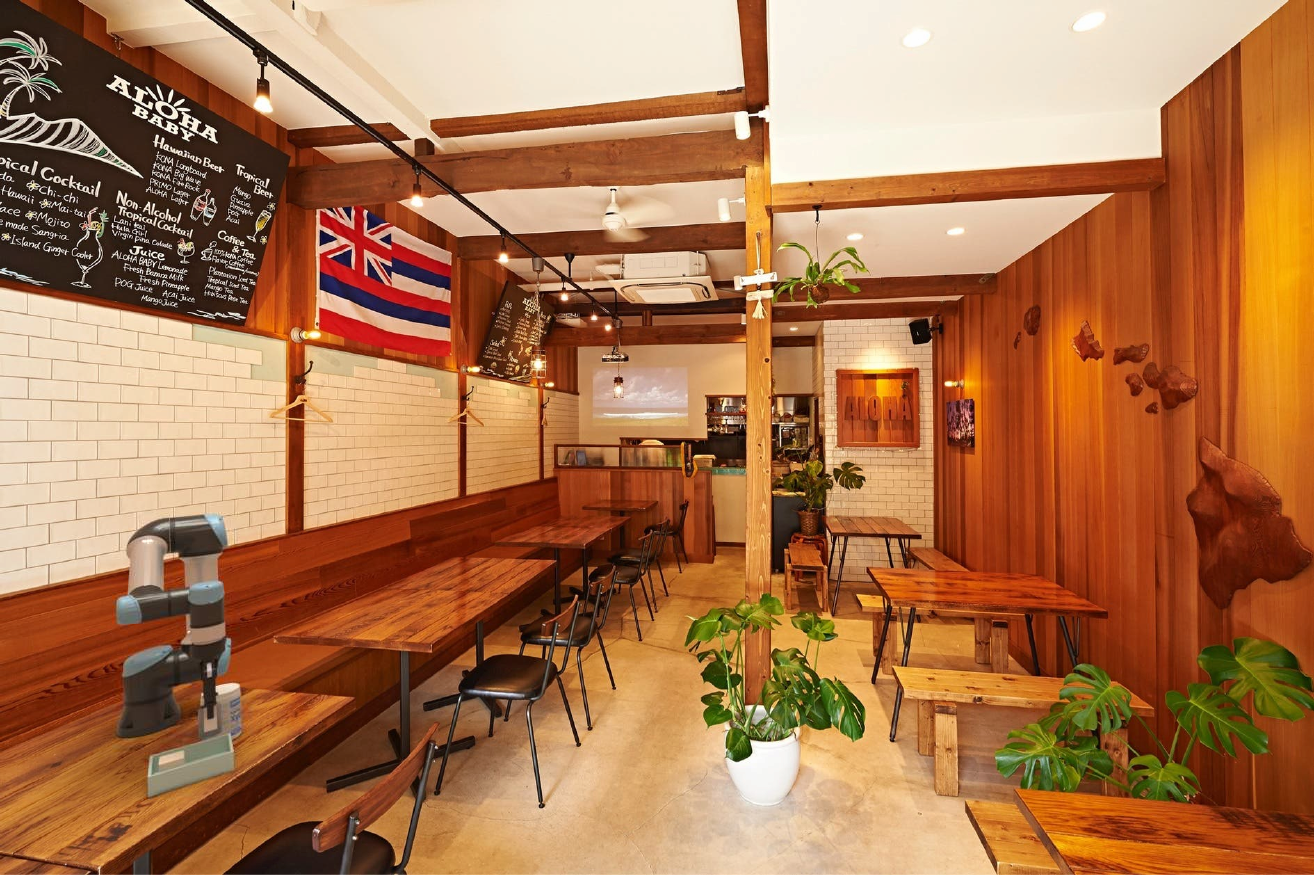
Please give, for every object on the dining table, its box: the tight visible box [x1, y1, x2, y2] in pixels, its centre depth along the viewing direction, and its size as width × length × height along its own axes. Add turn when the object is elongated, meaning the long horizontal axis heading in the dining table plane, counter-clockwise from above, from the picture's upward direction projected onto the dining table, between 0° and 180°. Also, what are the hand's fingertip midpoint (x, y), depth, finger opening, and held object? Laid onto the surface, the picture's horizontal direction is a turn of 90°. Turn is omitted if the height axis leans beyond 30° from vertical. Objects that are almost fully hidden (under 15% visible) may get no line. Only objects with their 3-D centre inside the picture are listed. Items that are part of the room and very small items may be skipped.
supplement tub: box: [200, 682, 243, 741], centre depth 169 cm, size 10×10×15 cm
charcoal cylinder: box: [197, 703, 222, 739], centre depth 154 cm, size 5×5×7 cm
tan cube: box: [159, 750, 185, 773], centre depth 149 cm, size 5×5×5 cm
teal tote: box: [147, 733, 235, 798], centre depth 152 cm, size 13×17×5 cm
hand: (210, 726), depth 154 cm, fingers closed on charcoal cylinder, 5 cm apart
